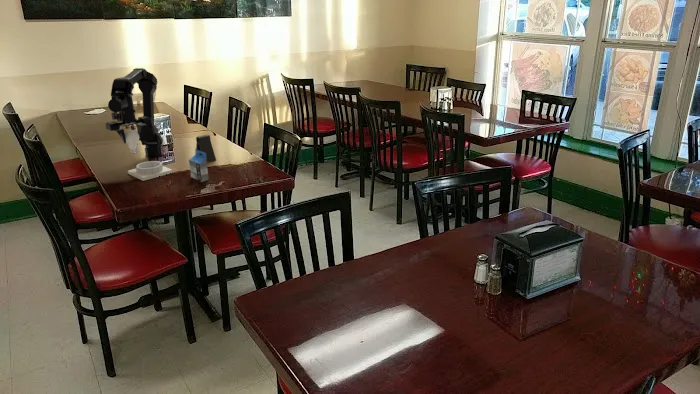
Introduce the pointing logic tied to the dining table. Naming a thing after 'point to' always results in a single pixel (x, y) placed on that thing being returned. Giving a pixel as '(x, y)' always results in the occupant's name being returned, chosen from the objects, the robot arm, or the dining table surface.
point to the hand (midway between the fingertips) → (132, 141)
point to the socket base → (149, 176)
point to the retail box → (199, 166)
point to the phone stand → (205, 147)
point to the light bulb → (132, 140)
